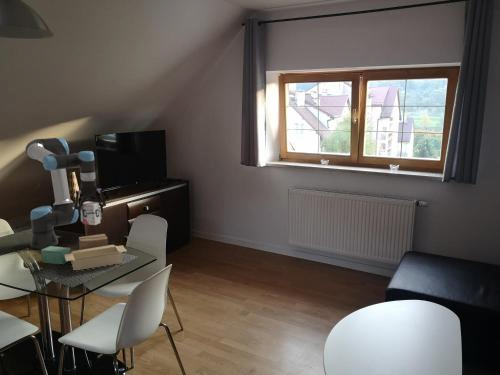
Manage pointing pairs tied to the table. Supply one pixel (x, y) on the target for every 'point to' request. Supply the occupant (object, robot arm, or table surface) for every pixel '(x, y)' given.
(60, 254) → the box
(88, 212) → the ink box
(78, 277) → the table surface
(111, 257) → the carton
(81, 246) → the stand
